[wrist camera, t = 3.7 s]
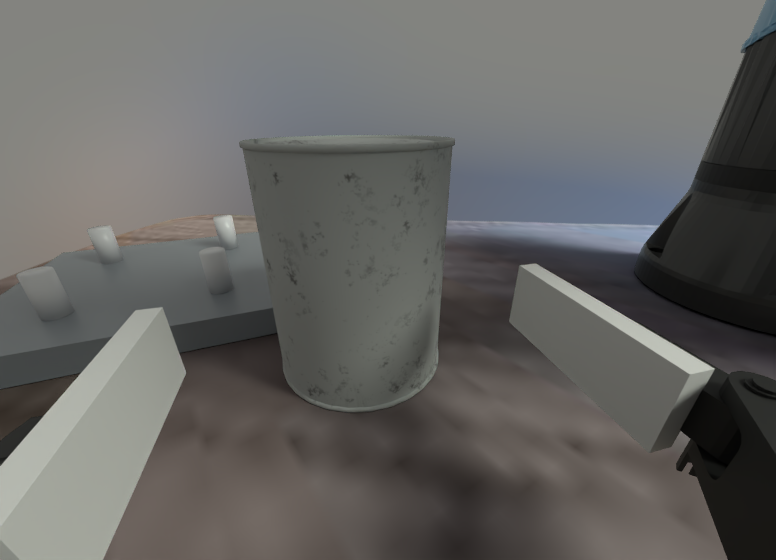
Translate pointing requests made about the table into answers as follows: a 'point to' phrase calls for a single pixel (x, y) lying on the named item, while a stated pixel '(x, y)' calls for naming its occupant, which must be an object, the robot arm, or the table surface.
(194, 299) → the stub board
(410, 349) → the grey marbled cylinder
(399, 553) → the table surface
